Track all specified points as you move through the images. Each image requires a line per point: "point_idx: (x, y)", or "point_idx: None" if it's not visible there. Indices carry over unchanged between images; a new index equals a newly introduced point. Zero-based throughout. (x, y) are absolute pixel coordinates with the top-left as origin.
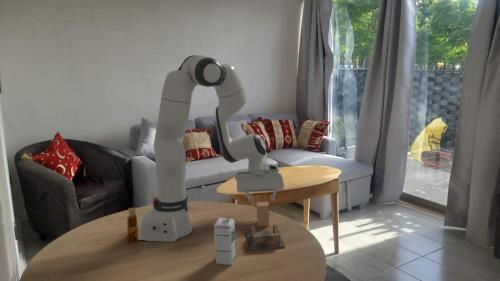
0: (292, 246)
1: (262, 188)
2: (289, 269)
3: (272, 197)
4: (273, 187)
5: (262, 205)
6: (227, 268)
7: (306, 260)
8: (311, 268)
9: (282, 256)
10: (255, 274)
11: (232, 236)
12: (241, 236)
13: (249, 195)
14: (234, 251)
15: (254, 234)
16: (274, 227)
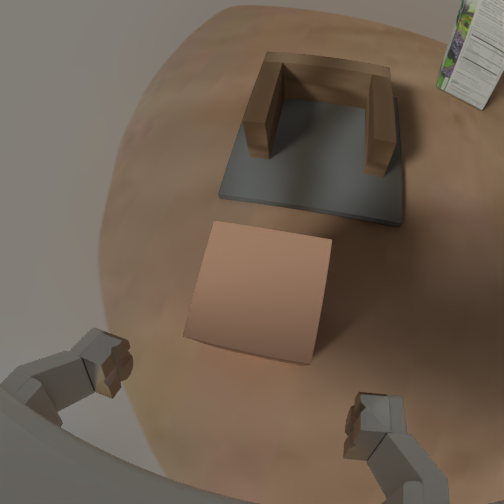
0: (225, 87)
1: (151, 473)
2: (288, 19)
3: (106, 339)
4: (6, 393)
5: (278, 236)
6: None
7: (226, 36)
8: (233, 18)
9: None
10: (378, 26)
11: (461, 3)
12: (424, 207)
13: (395, 442)
14: (445, 55)
15: (381, 77)
16: (265, 102)
